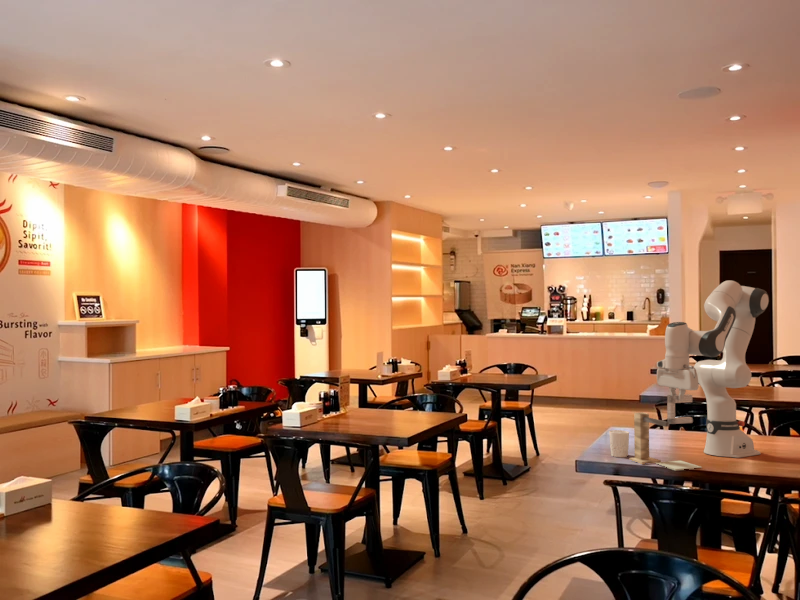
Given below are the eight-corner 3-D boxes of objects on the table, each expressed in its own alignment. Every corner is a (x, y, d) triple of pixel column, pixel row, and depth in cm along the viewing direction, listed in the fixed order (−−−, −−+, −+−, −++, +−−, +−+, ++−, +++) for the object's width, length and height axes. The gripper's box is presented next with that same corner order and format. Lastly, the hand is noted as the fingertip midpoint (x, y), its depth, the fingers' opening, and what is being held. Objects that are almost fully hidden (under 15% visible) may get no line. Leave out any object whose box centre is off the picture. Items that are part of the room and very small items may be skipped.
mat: (680, 461, 284) (680, 460, 284) (701, 468, 273) (701, 466, 273) (655, 464, 281) (655, 462, 281) (675, 470, 269) (675, 469, 269)
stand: (648, 458, 291) (647, 412, 291) (677, 468, 273) (677, 418, 274) (629, 460, 288) (628, 413, 288) (657, 470, 271) (657, 419, 271)
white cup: (630, 458, 292) (630, 433, 292) (610, 457, 294) (610, 433, 294) (628, 454, 300) (628, 430, 300) (608, 453, 302) (608, 429, 302)
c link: (689, 422, 280) (688, 394, 280) (692, 422, 278) (692, 394, 278) (667, 423, 277) (667, 395, 277) (670, 424, 275) (670, 395, 275)
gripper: (702, 365, 268) (702, 402, 268) (667, 362, 288) (667, 396, 288) (688, 366, 267) (688, 403, 266) (653, 362, 286) (653, 397, 286)
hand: (677, 399), depth 277 cm, fingers closed on c link, 2 cm apart
